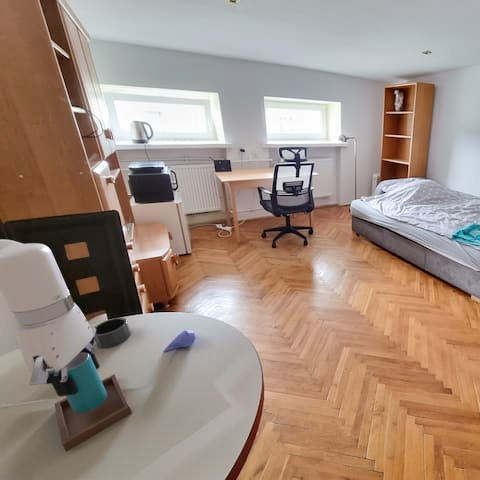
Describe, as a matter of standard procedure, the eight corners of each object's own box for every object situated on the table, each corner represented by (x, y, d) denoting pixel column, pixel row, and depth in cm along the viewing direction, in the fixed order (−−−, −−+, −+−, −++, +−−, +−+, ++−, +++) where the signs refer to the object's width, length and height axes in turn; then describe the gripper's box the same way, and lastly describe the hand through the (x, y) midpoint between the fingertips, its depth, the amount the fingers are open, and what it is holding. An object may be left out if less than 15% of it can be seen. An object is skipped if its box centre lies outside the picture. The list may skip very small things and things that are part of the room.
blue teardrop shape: (204, 337, 85) (191, 328, 87) (191, 331, 80) (178, 322, 83) (184, 363, 81) (171, 353, 84) (170, 358, 77) (156, 348, 79)
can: (65, 415, 59) (43, 374, 55) (85, 392, 64) (66, 353, 60) (96, 411, 60) (76, 370, 56) (113, 388, 65) (96, 350, 61)
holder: (90, 351, 80) (83, 337, 79) (108, 332, 88) (103, 319, 86) (121, 347, 82) (116, 333, 80) (137, 329, 89) (132, 316, 87)
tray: (57, 409, 64) (54, 403, 63) (117, 380, 71) (114, 374, 70) (66, 451, 55) (62, 444, 55) (132, 412, 63) (129, 406, 62)
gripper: (59, 287, 61) (89, 353, 67) (-29, 342, 45) (22, 422, 52) (99, 284, 62) (124, 349, 68) (27, 337, 46) (69, 416, 53)
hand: (80, 380), depth 60 cm, fingers closed on can, 5 cm apart
